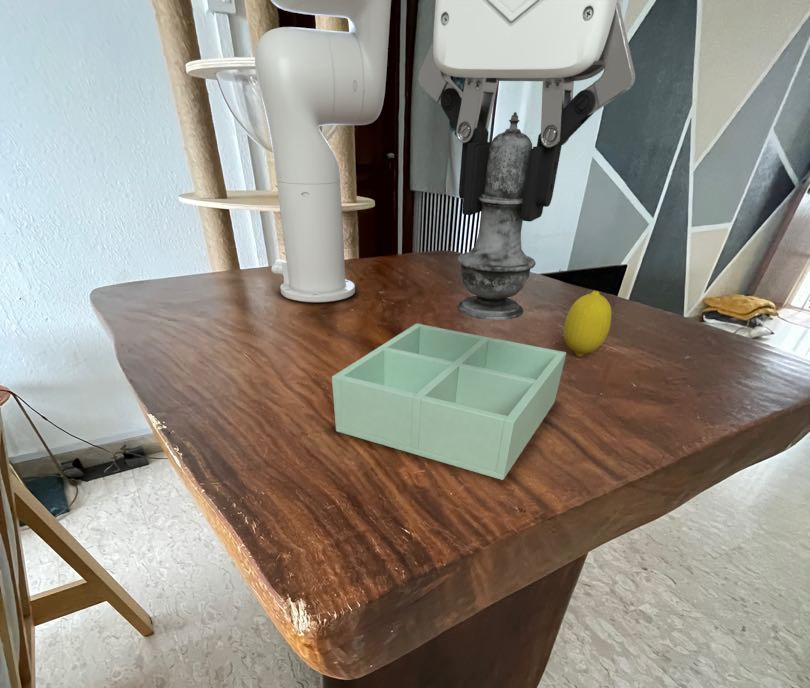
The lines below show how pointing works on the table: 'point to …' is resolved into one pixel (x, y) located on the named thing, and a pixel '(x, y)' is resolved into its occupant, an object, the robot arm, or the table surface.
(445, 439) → the box
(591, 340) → the lemon
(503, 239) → the salt shaker
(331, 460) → the table surface
